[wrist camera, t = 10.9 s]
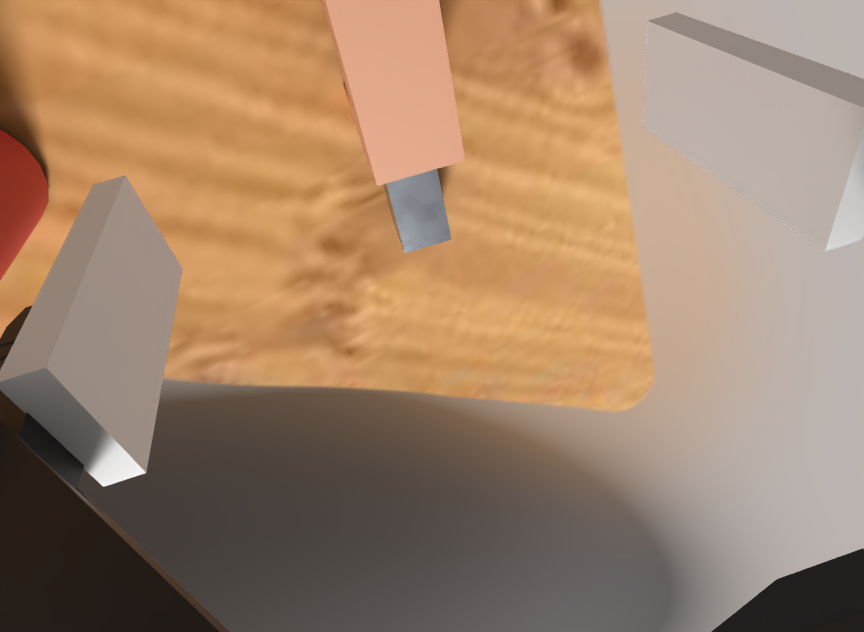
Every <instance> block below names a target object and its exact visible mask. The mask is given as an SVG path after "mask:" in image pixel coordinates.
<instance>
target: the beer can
mask: <svg viewBox="0 0 864 632" xmlns="http://www.w3.org/2000/svg"><path fill="white" fill-rule="evenodd" d="M48 201H49V198H48V183H47V180H46V178H45V176H44V173H43V171H42V169H41V166H40V164H39V163H38V162H37V161H36V159H35V158H34V157H33V156H32V154H31V153H30V152H29V151H28V150H27V148H26V147H25V146H23V145H22V144H21V143H19V142H18V141H17V140H15V139H14V138H13V137H11V136H10V135H9V134H7V133H6V132H4V131H2V130H0V280H1V279H2V277H3V276H4V274H5V273H6V271H7V270H8V268H9V266H10V265H11V263H12V262H13V260H14V259H15V257H16V256H17V254H18V253H19V251H20V250H21V248H22V247H23V245H24V243H25V242H26V240H27V239H28V237H29V236H30V234H31V233H32V231H33V230H34V228H35V227H36V225H37V223H38V222H39V220H40V219H41V217H42V216H43V213H44V211H45V209H46V206H47V204H48Z"/></svg>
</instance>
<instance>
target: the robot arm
mask: <svg viewBox="0 0 864 632" xmlns="http://www.w3.org/2000/svg"><path fill="white" fill-rule="evenodd" d="M647 24H648V26H647V44H646V65H645V66H646V67H645V87H644V107H643V128H644V129H646V130H647V131H649V132H650V133H652V134H653V135H654V136H656V137H657V138H659V139H661V140H662V141H663V142H665V143H666V144H668V145H669V146H671V147H672V148H674V149H675V150H676V151H678V152H679V153H681V154H682V155H684V156H685V157H687V158H688V159H690V160H691V161H693V162H694V163H696V164H697V165H698V166H700V167H701V168H703V169H704V170H706V171H707V172H709V173H710V174H712V175H713V176H715V177H716V178H718V179H719V180H721V181H722V182H723V183H725V184H727V185H728V186H729V187H731V188H732V189H734V190H735V191H737V192H738V193H740V194H741V195H742V196H744V197H745V198H747V199H748V200H750V201H751V202H753V203H754V204H756V205H757V206H759V207H760V208H762V209H763V210H765V211H766V212H768V213H769V214H770V215H772V216H773V217H775V218H776V219H778V220H779V221H781V222H782V223H784V224H785V225H787V226H788V227H789V228H791V229H792V230H794V231H795V232H797V233H798V234H800V235H801V236H803V237H804V238H806V239H807V240H808V241H810V242H811V243H813V244H814V245H816V246H817V247H819V248H820V249H822V250H823V251H828V250H832V249H835V248H838V247H841V246H844V245H847V244H850V243H853V242H856V241H859V240H862V237H863V235H864V79H862V78H860V77H857V76H854V75H851V74H848V73H845V72H842V71H840V70H837V69H834V68H831V67H828V66H826V65H823V64H820V63H817V62H814V61H812V60H809V59H806V58H803V57H800V56H798V55H794V54H791V53H789V52H786V51H783V50H780V49H778V48H775V47H772V46H769V45H767V44H764V43H761V42H758V41H755V40H752V39H750V38H747V37H744V36H741V35H738V34H736V33H733V32H730V31H727V30H724V29H721V28H718V27H716V26H713V25H710V24H707V23H705V22H702V21H699V20H696V19H693V18H690V17H687V16H685V15H682V14H679V13H673V14H670V15H667V16H663V17H660V18H656V19H653V20H649V21H648V23H647ZM181 274H182V267H181V265H180V264H179V262H178V260H177V259H176V257H175V255H174V254H173V252H172V251H171V249H170V247H169V246H168V244H167V242H166V241H165V239H164V238H163V236H162V234H161V233H160V231H159V229H158V228H157V226H156V224H155V223H154V221H153V220H152V218H151V216H150V215H149V213H148V211H147V210H146V208H145V207H144V205H143V203H142V202H141V200H140V198H139V197H138V195H137V193H136V192H135V190H134V189H133V187H132V185H131V184H130V182H129V180H128V179H127V177H126V176H122V177H118V178H115V179H111V180H108V181H105V182H101V183H98V184H94V185H93V186H92V188H91V190H90V192H89V194H88V196H87V198H86V200H85V202H84V204H83V206H82V208H81V210H80V212H79V214H78V216H77V218H76V220H75V222H74V224H73V226H72V228H71V230H70V232H69V234H68V236H67V238H66V240H65V242H64V244H63V246H62V248H61V250H60V252H59V254H58V256H57V258H56V260H55V262H54V264H53V266H52V268H51V270H50V272H49V274H48V276H47V278H46V280H45V282H44V284H43V286H42V288H41V290H40V292H39V294H38V296H37V298H36V300H35V302H34V304H33V305H32V306H29V307H26V308H25V309H24V310H23V311H22V312H21V313H20V314H19V315H18V316H17V317H16V318H15V319H14V320H13V321H12V322H11V323H10V324H9V325H8V326H7V327H6V329H5V331H4V333H3V335H2V337H1V338H0V632H230V631H229V630H228V629H227V628H225V627H224V626H223V625H222V624H221V623H220V622H219V621H218V620H217V619H216V618H215V617H214V616H213V615H212V614H211V613H209V611H208V610H206V609H205V608H204V607H203V606H202V605H201V604H200V603H199V602H198V601H197V600H196V599H195V598H194V597H193V596H192V595H191V594H190V593H188V592H187V591H186V590H185V589H184V588H183V587H182V586H181V585H180V584H179V583H178V582H177V581H176V580H175V579H174V578H173V577H172V576H170V575H169V574H168V573H167V572H166V571H165V570H164V569H163V568H162V567H161V566H160V565H159V564H158V563H157V562H156V561H155V560H154V559H152V558H151V557H150V556H149V555H148V554H147V553H146V552H145V551H144V550H143V549H142V548H141V547H140V546H139V545H138V544H137V543H136V542H135V541H134V540H132V539H131V538H130V537H129V536H128V535H127V534H126V533H125V532H124V531H123V530H122V529H121V528H120V527H119V526H118V525H117V524H116V523H115V522H114V521H112V520H111V519H110V518H109V517H108V516H107V515H106V514H105V513H104V512H103V511H102V510H101V509H100V508H99V507H98V506H97V505H95V503H93V502H92V501H91V500H90V499H89V498H88V497H87V496H86V495H85V494H84V493H82V492H81V491H80V490H79V489H78V485H79V481H80V478H81V474H82V470H83V468H84V469H85V470H86V471H87V472H88V473H89V474H90V475H91V476H93V477H94V478H95V479H96V480H97V481H98V482H99V483H100V484H101V485H102V486H107V485H110V484H113V483H116V482H119V481H122V480H126V479H128V478H132V477H135V476H138V475H141V474H144V473H146V470H147V465H148V458H149V453H150V447H151V442H152V437H153V431H154V425H155V419H156V414H157V408H158V403H159V397H160V392H161V386H162V380H163V375H164V369H165V363H166V358H167V352H168V347H169V341H170V335H171V330H172V324H173V319H174V313H175V307H176V302H177V296H178V290H179V285H180V279H181ZM712 632H864V549H860V550H857V551H855V552H852V553H849V554H846V555H843V556H841V557H838V558H836V559H832V560H829V561H827V562H824V563H821V564H818V565H816V566H813V567H810V568H807V569H804V570H802V571H799V572H796V573H794V574H791V575H788V576H785V577H782V578H779V579H777V580H775V581H774V582H773V583H772V584H770V585H769V586H768V587H767V588H766V589H764V590H763V591H762V592H760V593H759V594H758V595H757V596H756V597H754V598H753V599H752V600H751V601H749V602H748V603H747V604H746V605H744V606H743V607H742V608H741V609H739V610H738V611H737V612H736V613H734V614H733V615H732V616H731V617H729V618H728V619H727V620H726V621H724V622H723V623H722V624H721V625H720V626H718V627H717V628H716V629H714V630H713V631H712Z"/></svg>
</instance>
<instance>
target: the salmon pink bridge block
mask: <svg viewBox="0 0 864 632" xmlns="http://www.w3.org/2000/svg"><path fill="white" fill-rule="evenodd" d="M322 4H323V7H324V11H325V14H326V18H327V22H328V25H329V29H330V32H331V36H332V39H333V43H334V46H335V50H336V53H337V57H338V60H339V64H340V67H341V71H342V75H343V78H344V82H345V85H344V89H345V92H346V96H347V99H348V103H349V106H350V110H351V113H352V117H353V120H354V123H355V126H356V128H357V131H358V134H359V136H360V139H361V142H362V145H363V149H364V152H365V155H366V157H367V160H368V163H369V165H370V168H371V171H372V174H373V176H374V179H375V182H376V184H377V186H379V185H383V184H386V183H389V182H393V181H396V180H400V179H403V178H407V177H410V176H414V175H417V174H421V173H424V172H428V171H431V170H435V169H438V168H442V167H445V166H448V165H452V164H455V163H459V162H462V161H465V157H464V150H463V144H462V138H461V132H460V126H459V120H458V114H457V107H456V101H455V95H454V89H453V83H452V77H451V71H450V65H449V58H448V52H447V46H446V40H445V34H444V28H443V22H442V15H441V9H440V3H439V0H322Z"/></svg>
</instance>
